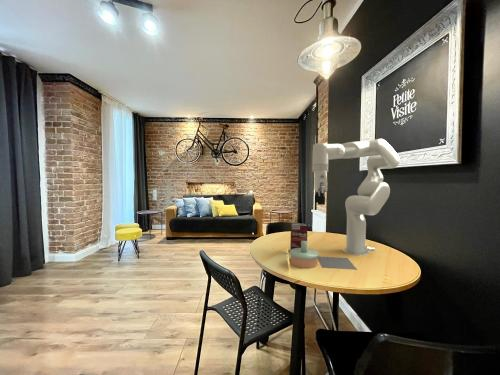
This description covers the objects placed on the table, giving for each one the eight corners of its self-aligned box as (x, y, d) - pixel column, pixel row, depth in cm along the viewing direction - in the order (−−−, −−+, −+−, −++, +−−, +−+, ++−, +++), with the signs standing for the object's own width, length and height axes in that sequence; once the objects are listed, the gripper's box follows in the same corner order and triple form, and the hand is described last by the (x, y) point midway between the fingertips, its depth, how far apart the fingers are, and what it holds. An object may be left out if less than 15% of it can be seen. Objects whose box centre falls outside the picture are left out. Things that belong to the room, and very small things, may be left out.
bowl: (314, 261, 114) (315, 251, 113) (319, 270, 102) (319, 259, 101) (290, 260, 115) (290, 250, 115) (291, 269, 103) (291, 258, 103)
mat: (347, 259, 116) (347, 257, 116) (357, 271, 101) (357, 269, 101) (316, 258, 118) (316, 256, 118) (322, 269, 103) (322, 267, 103)
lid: (315, 250, 114) (316, 238, 114) (320, 260, 101) (321, 246, 101) (289, 249, 115) (289, 237, 115) (290, 258, 102) (291, 244, 102)
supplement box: (290, 254, 123) (291, 225, 123) (290, 251, 128) (290, 223, 128) (307, 255, 122) (307, 225, 122) (306, 252, 127) (306, 223, 127)
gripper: (332, 168, 105) (331, 205, 105) (324, 169, 122) (324, 202, 122) (315, 168, 105) (314, 205, 106) (310, 169, 123) (309, 201, 123)
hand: (319, 203), depth 114 cm, fingers open, 9 cm apart
